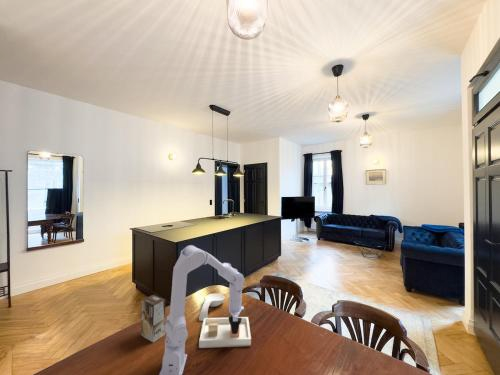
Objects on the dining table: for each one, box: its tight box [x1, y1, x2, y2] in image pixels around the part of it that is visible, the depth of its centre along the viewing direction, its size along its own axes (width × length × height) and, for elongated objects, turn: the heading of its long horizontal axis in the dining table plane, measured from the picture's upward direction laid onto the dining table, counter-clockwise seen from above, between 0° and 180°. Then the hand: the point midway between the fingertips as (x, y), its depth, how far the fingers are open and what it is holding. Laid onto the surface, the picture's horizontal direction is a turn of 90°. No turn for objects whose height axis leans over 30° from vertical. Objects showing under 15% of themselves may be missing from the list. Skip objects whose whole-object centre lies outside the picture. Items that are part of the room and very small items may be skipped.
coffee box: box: [140, 294, 166, 343], centre depth 97 cm, size 9×6×16 cm
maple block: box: [208, 320, 218, 337], centre depth 99 cm, size 4×4×5 cm
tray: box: [198, 316, 252, 349], centre depth 99 cm, size 16×22×3 cm
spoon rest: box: [198, 293, 226, 322], centre depth 120 cm, size 24×12×7 cm, turn 171°
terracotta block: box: [230, 326, 240, 337], centre depth 99 cm, size 4×4×5 cm
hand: (234, 327), depth 99 cm, fingers open, 7 cm apart
